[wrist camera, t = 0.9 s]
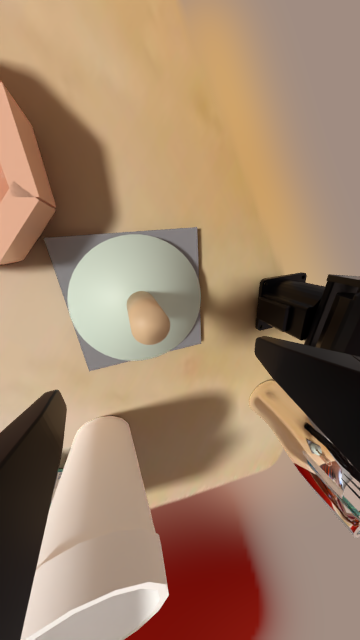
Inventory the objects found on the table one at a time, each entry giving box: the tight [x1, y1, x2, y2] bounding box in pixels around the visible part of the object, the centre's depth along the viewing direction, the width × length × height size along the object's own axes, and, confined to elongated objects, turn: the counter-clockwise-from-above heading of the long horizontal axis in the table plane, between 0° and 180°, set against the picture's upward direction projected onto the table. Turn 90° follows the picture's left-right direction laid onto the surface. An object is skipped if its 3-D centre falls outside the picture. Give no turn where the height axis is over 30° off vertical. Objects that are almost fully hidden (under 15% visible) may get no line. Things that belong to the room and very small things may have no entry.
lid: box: [67, 234, 201, 361], centre depth 15 cm, size 12×12×6 cm
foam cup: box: [20, 416, 169, 640], centre depth 17 cm, size 10×9×13 cm
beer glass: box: [249, 380, 360, 538], centre depth 23 cm, size 7×7×15 cm
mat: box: [44, 227, 201, 371], centre depth 18 cm, size 12×12×1 cm
